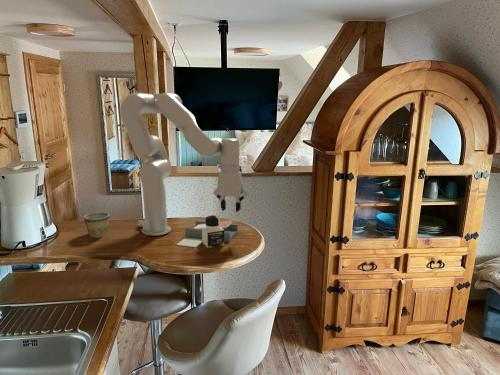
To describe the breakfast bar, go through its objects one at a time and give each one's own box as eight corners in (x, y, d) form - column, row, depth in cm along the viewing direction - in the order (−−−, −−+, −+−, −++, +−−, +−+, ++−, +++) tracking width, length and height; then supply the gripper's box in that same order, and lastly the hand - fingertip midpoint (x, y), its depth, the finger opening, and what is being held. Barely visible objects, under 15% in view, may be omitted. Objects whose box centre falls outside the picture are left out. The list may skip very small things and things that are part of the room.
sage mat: (176, 245, 150) (176, 244, 149) (185, 238, 158) (185, 237, 157) (195, 247, 147) (195, 246, 147) (204, 240, 155) (204, 239, 155)
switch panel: (185, 237, 159) (185, 226, 158) (196, 228, 170) (196, 218, 169) (229, 241, 154) (229, 230, 153) (238, 232, 165) (237, 222, 164)
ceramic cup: (102, 243, 152) (100, 219, 149) (80, 241, 154) (78, 218, 151) (119, 232, 164) (117, 211, 162) (99, 231, 166) (97, 209, 164)
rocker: (192, 231, 160) (192, 228, 160) (198, 227, 167) (198, 224, 166) (226, 227, 156) (226, 224, 155) (231, 223, 162) (231, 220, 162)
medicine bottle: (207, 248, 147) (207, 220, 145) (202, 243, 153) (201, 215, 151) (224, 246, 150) (224, 217, 148) (218, 240, 156) (218, 213, 154)
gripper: (207, 169, 152) (208, 211, 156) (247, 170, 147) (247, 214, 151) (214, 166, 159) (215, 206, 163) (252, 167, 154) (252, 209, 158)
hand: (230, 210), depth 157 cm, fingers open, 5 cm apart
